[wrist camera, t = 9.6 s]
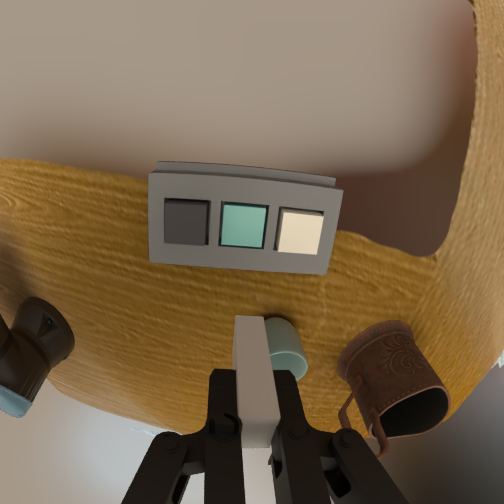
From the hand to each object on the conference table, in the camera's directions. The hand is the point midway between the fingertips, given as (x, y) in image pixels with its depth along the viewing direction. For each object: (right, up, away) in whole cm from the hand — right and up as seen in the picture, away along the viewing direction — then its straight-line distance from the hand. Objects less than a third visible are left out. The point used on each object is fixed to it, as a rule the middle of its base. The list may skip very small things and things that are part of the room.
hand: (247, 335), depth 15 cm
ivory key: (+6, +8, +21) cm, 23 cm away
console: (-1, +10, +23) cm, 25 cm away
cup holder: (+24, -16, +35) cm, 46 cm away
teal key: (-1, +9, +21) cm, 23 cm away
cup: (+4, -8, +31) cm, 32 cm away
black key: (-8, +9, +20) cm, 23 cm away
